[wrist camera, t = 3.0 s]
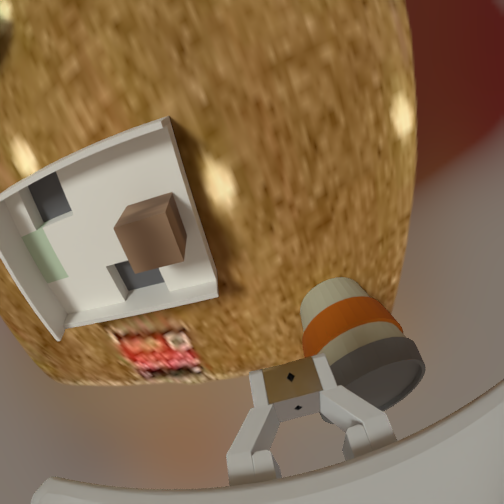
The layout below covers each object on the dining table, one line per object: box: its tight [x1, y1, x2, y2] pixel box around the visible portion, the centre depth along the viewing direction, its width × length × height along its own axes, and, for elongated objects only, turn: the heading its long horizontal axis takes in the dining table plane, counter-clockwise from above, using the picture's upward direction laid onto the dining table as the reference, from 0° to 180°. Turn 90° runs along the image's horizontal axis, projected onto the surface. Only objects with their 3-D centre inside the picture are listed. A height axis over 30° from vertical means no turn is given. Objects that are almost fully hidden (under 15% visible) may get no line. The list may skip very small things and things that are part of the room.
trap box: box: [0, 116, 219, 341], centre depth 25 cm, size 20×17×6 cm
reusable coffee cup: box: [300, 277, 425, 424], centre depth 32 cm, size 13×13×15 cm
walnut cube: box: [113, 192, 187, 274], centre depth 24 cm, size 4×4×4 cm
